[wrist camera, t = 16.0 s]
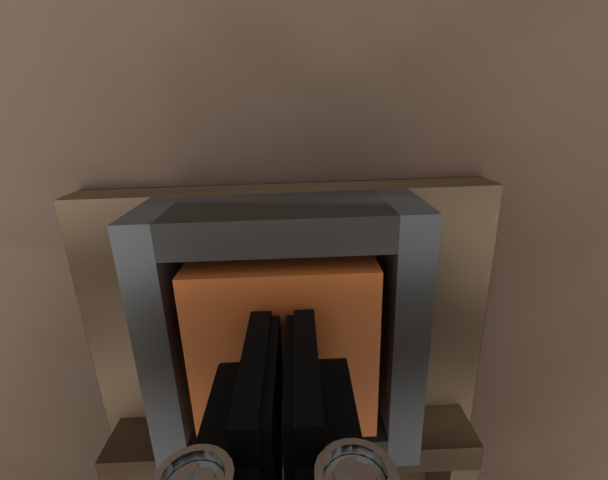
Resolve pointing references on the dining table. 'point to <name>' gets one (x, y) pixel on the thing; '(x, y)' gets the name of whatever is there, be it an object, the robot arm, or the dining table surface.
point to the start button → (282, 317)
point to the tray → (277, 245)
